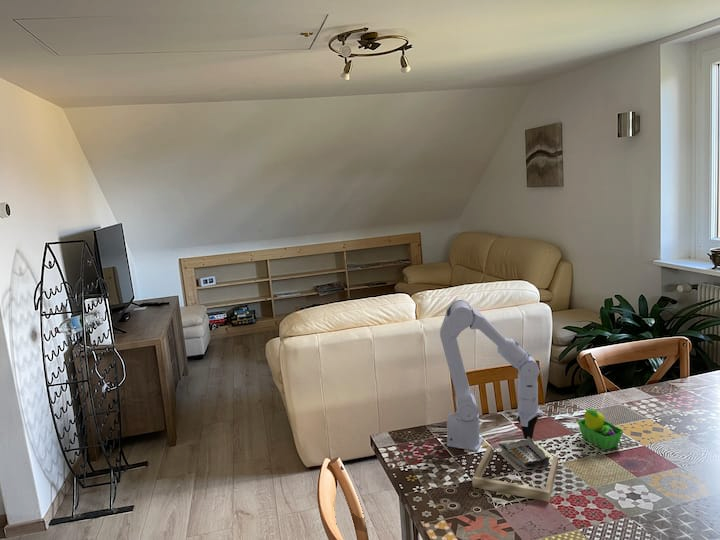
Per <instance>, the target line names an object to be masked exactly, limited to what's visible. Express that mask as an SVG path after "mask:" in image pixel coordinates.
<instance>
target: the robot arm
mask: <svg viewBox="0 0 720 540" xmlns="http://www.w3.org/2000/svg"><path fill="white" fill-rule="evenodd" d="M467 328H470V330H479V331H480V332H481V333H483V335H485V336H486V337H487V338H488V339H489V340H490V341H491V342H493V343H494V344H495V345H496V346H497V353H498V354H499V355H500V356H501V357H503V359H504V360H505V361H506V362H508V363H509V365H510V366H512V367H513V368H515V369H517V370H518V372H517V415H518V416H517V419H516V420H517V422H518V424H519V425H520V428H521V430H522V434H523V438H524V440H527V437H528V436H529V437H530V438H531V439H532V440H533V437H534V432H535V426H536V424H537V422H538V420H539V416H542V415H543V409H539V381H538V377H539V376H540V373H541V370H540V367H539V364H538V363H537V362H536V360H535V358H534V357H533V355H532V354H531V353H530V352H529V351H526V350H525V349H523V348H522V347H521V346H520V342H519V341H518V340H517V339H515V340H514V339H513V338H511V337H504V335H503V334H502V333H501V332H500V331H499V330H498V329H497V328H496V327H495V326H494V325H493V323H492V322H490V321H489V320H488V319H487V317H485V315H483V314H482V313H481V312H479V311H478V309H476V308H475V307H473V306H471V305H470V304H469V302H468V301H466V300H464V299H457V300H455V301H453V302H451V304H450V305H449V306H448V308H447V309H446V312H445V315H444V318H443V321H442V324H441V326H440V329H439V336H440V337H439V338H440V341H441V345H442V347H443V351H444V356H445V359H446V362H447V366H448V370H449V375H450V377H451V381H452V384H453V388H454V393H455V396H454V401H455V406H456V411H455V412H453V413H449V414H448V416H447V419H446V420H447V421H446V438H447V439H446V440H447V443H446V447H451V448H457V449H464V450H470V451H475V452H477V451H479V449H480V447H481V445H482V443H483V441H484V437H482V436H480V414H479V408H478V405H477V400H476V395H475V394H474V392H473V391H472V389H471V388H470V384H469V381H468V376H467V373H466V369H465V366H464V362H463V358H462V354H461V350H460V347H459V342H458V340H457V338H458V337H459V335H460V334H461V333H462V332H463V331H465V330H466V329H467Z"/></svg>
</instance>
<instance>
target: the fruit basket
mask: <svg viewBox="0 0 720 540" xmlns="http://www.w3.org/2000/svg"><path fill="white" fill-rule="evenodd" d="M576 422H577V424H578V426H579V430H580V433H581V436H582V438H583V439H585V440H587V441H589V443H592V444H594V445H595V446H596V447H598V448H600V449H601V450H603V451H606V450H609V449H613V448H617V447H618V446H619V442H620V440H621V437H622V435H623V434H624V430H623V429H621V428H620V427H618V426H617V425H613V424H612V423H610V422H608V421H607V420H606V419H605V416H604V415H603V414H602V413H600V412H599V411H597V410H596V409H595V408H589V409H586V411H585V412H584V418H583V419H582V418H581V419H579V420H577V421H576Z"/></svg>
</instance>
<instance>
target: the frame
mask: <svg viewBox="0 0 720 540" xmlns="http://www.w3.org/2000/svg"><path fill="white" fill-rule="evenodd" d="M493 452H494V451H493V446H492V445H488V446H487V448H486V449H485V451H484V454H483V455H482V458H481V460H480V462H479V464H478V465H477V468H476V470H475V472H474V474H473V476H472V480H471V482H472V485H471V486H472V488H477V489H482V490H487V491H492V492H497V493H501V494H506V495H513V496H518V497H522V498H527V499H532V500H537V501H542V502H548V503H549V502H550V500H551V497H552V493H553V488H554V486H555V485H554V484H555V480H556V476H557V471H558V467H559V456H553V457H552V462H551V465H550V469H549V471H548V476H547V480H546V484H545V487H544V488H542V487H541V488H539V487H534V486H529V485H524V484H519V483H512V482H509V481H502V480H497V479H491V478H486V477H483V476H484V473H486V472H485V471H486V469H487V467H488V465H489V463H490V460H491V459H492V456H493Z"/></svg>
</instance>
